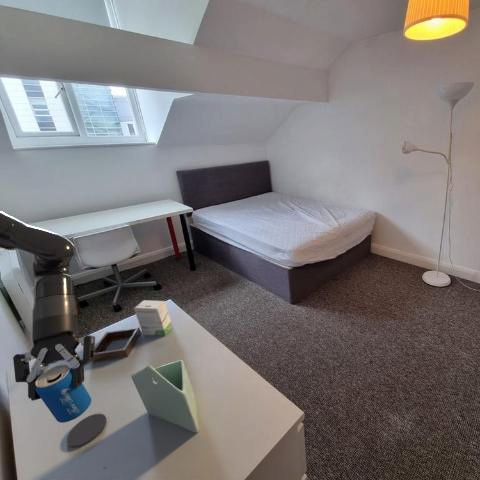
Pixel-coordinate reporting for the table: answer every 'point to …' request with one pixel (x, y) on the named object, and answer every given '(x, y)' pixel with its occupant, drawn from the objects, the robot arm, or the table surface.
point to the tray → (112, 336)
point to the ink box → (153, 317)
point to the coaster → (86, 430)
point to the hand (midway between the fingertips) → (57, 392)
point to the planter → (168, 394)
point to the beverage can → (62, 394)
